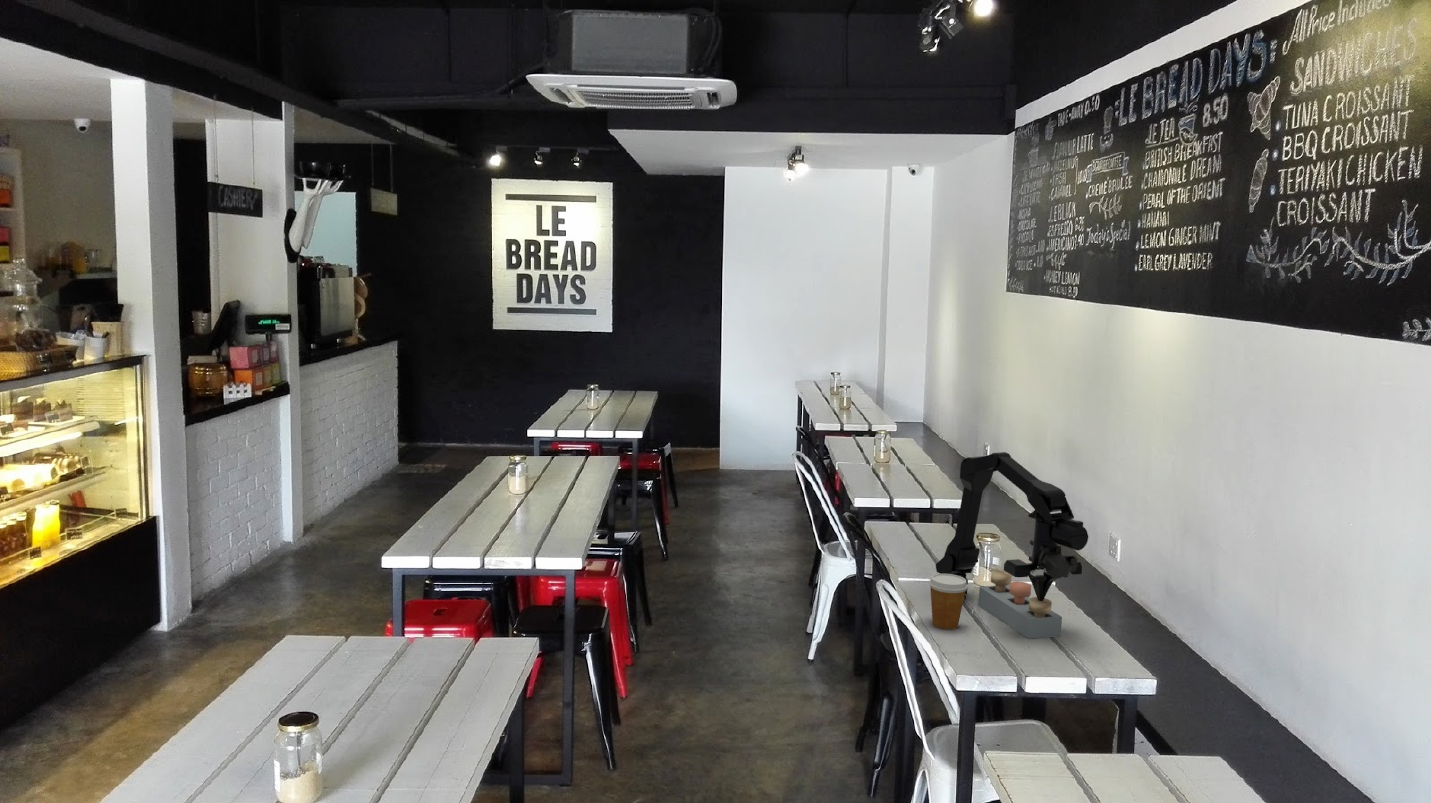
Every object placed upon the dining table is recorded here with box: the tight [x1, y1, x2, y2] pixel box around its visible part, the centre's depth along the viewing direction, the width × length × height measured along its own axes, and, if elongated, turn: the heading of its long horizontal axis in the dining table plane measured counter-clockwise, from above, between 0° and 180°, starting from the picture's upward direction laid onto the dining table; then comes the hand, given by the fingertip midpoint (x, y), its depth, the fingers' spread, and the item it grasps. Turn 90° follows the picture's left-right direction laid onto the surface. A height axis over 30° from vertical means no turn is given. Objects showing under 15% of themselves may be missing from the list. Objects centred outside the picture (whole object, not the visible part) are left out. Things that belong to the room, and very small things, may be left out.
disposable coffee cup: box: [928, 573, 969, 630], centre depth 254 cm, size 10×10×12 cm
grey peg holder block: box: [977, 585, 1063, 640], centre depth 260 cm, size 9×24×5 cm, turn 15°
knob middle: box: [1009, 580, 1032, 605], centre depth 259 cm, size 5×5×7 cm
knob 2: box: [1029, 596, 1053, 618], centre depth 251 cm, size 5×5×7 cm
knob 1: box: [990, 569, 1013, 593], centre depth 268 cm, size 5×5×7 cm
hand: (1040, 600), depth 250 cm, fingers closed, pressing on knob 2
